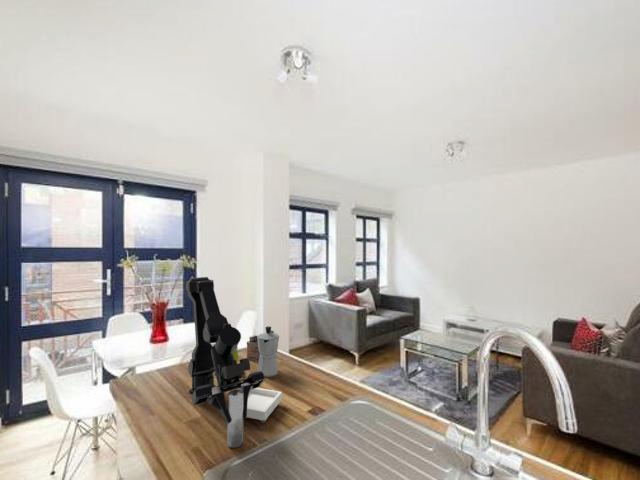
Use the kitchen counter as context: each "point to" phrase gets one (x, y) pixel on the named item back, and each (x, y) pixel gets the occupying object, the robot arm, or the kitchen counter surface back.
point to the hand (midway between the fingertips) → (237, 420)
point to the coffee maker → (268, 352)
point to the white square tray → (262, 403)
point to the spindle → (235, 418)
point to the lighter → (253, 348)
